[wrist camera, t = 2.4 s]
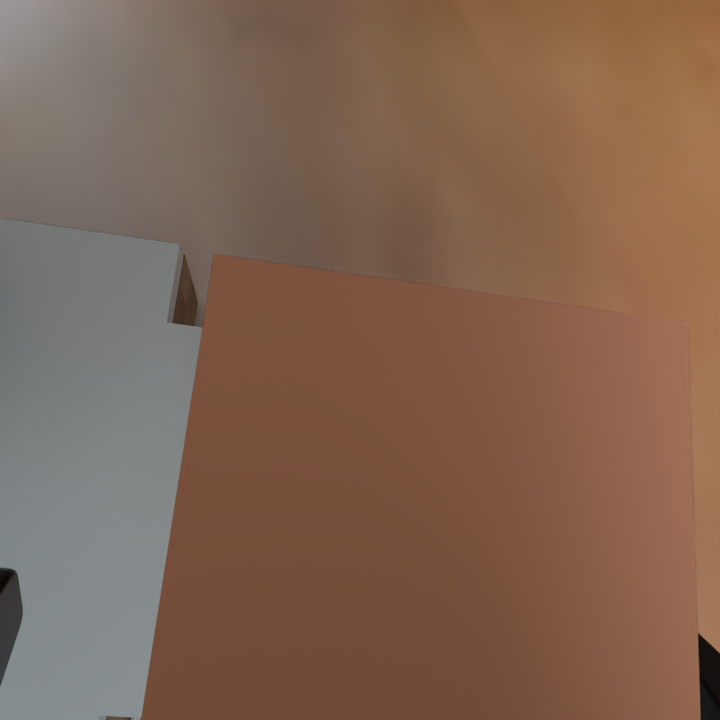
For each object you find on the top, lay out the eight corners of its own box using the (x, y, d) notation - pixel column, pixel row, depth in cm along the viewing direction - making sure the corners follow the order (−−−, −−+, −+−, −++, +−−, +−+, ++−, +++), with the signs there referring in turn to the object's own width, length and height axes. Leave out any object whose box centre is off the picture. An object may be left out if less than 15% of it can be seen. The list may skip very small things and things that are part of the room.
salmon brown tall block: (374, 604, 18) (705, 862, 5) (224, 592, 18) (120, 845, 4) (387, 454, 19) (687, 322, 6) (244, 438, 19) (213, 254, 5)
